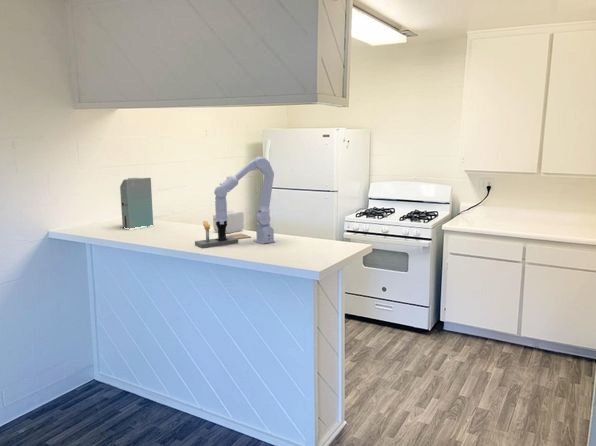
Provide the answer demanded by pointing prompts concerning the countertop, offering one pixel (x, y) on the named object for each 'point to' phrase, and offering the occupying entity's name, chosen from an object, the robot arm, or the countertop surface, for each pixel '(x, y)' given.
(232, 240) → the grey base with posts
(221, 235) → the robot arm
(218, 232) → the plug
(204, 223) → the clip
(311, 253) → the countertop surface
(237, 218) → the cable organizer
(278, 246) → the countertop surface
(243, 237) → the cork mat
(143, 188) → the device
